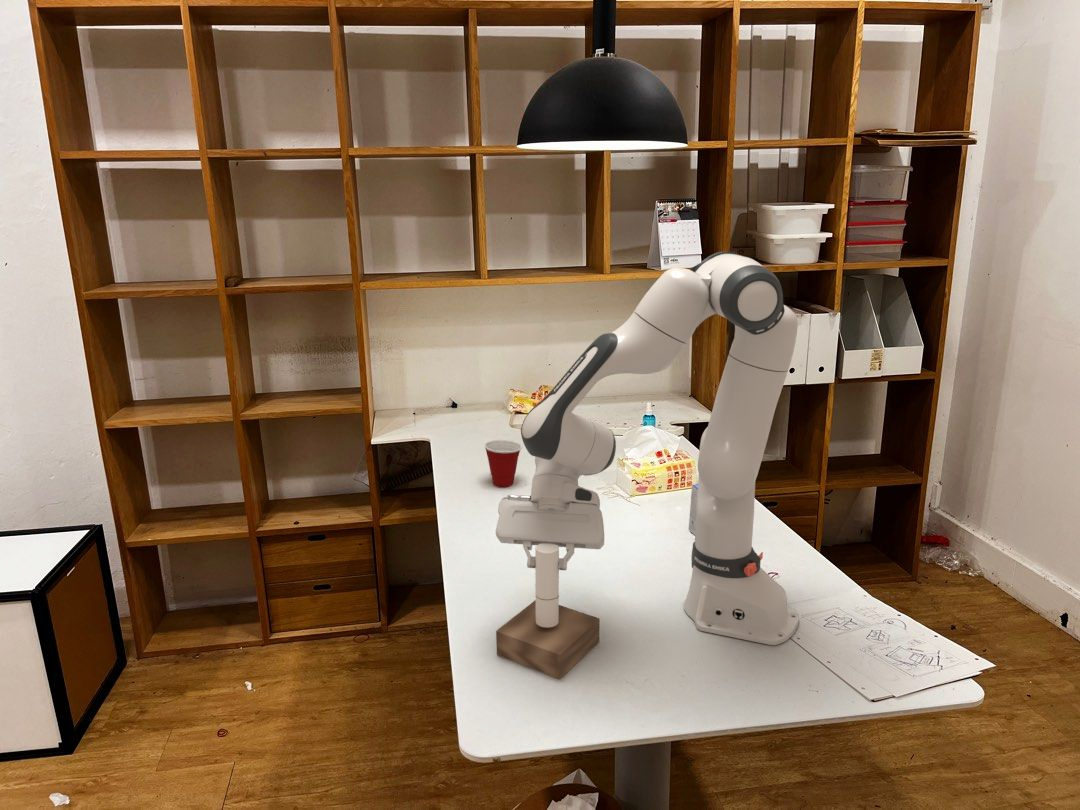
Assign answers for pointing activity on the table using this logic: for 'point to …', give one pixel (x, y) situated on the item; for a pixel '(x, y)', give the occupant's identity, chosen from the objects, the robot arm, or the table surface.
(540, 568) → the tube
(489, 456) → the plastic cup
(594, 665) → the table surface
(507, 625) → the walnut stand
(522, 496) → the robot arm
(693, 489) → the ink cartridge box
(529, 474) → the table surface
